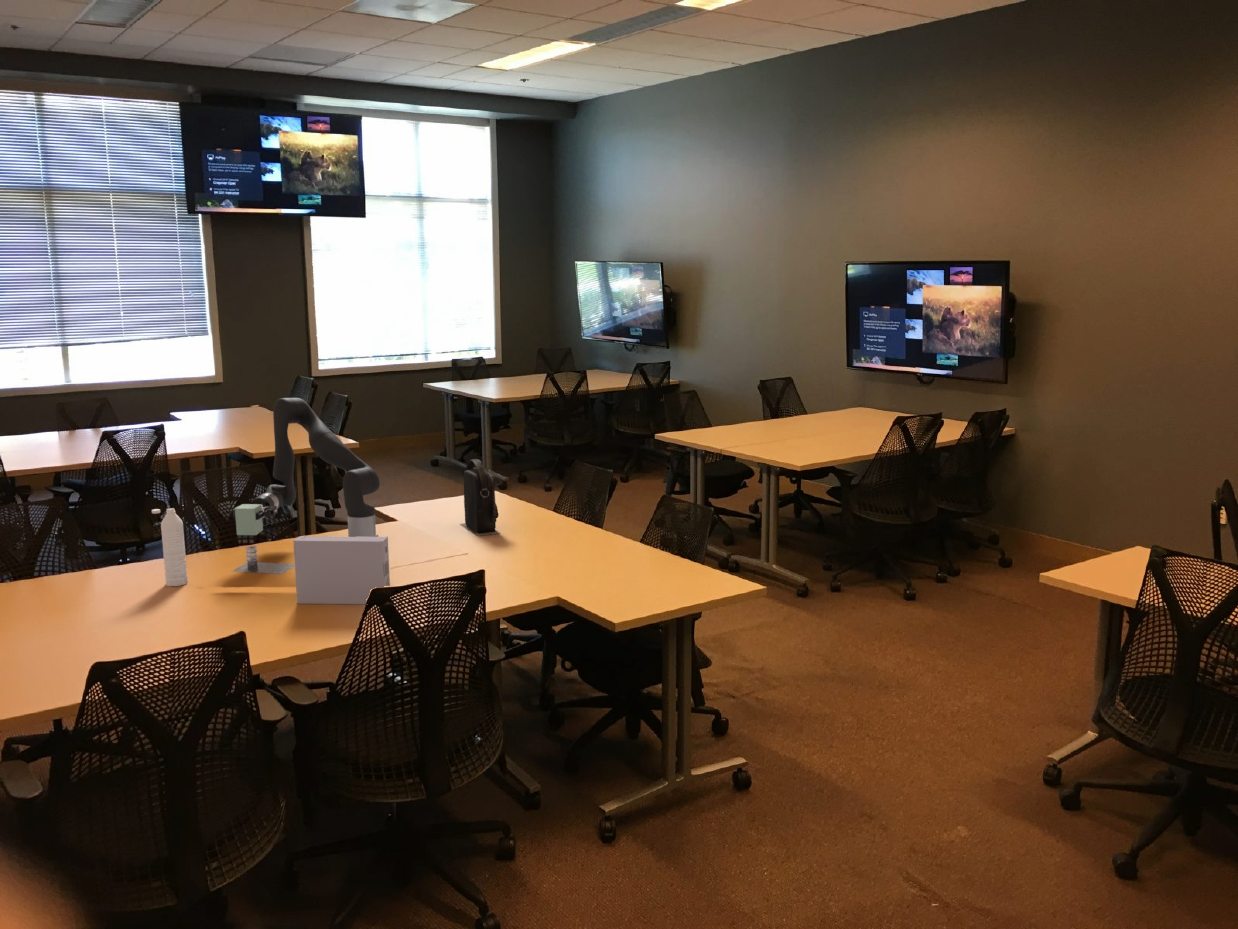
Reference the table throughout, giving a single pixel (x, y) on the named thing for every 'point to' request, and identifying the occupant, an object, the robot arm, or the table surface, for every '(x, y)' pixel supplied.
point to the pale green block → (248, 519)
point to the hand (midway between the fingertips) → (246, 516)
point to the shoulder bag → (479, 500)
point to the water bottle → (173, 548)
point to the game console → (339, 568)
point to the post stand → (261, 564)
